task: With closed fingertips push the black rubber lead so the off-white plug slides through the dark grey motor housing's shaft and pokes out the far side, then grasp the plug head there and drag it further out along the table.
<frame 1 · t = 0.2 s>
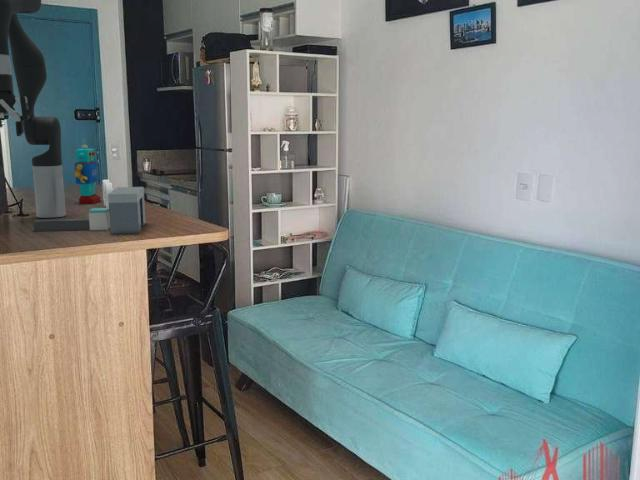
hand: (2, 136, 169), 28 cm above the countertop, fingers open, 8 cm apart
housing: (128, 227, 194), on the countertop
toy robot: (89, 203, 252), on the countertop
plug: (99, 228, 193), on the countertop
letter: (108, 208, 237), on the countertop
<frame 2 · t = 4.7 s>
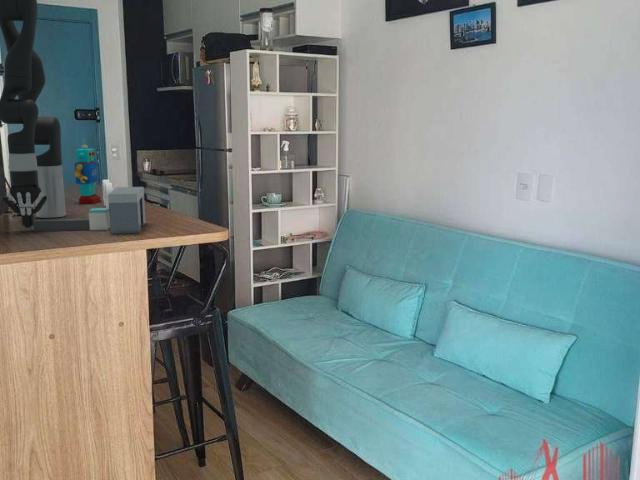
hand: (28, 227, 189), 1 cm above the countertop, fingers closed
plug: (99, 228, 193), on the countertop, touching gripper
everything else where it was.
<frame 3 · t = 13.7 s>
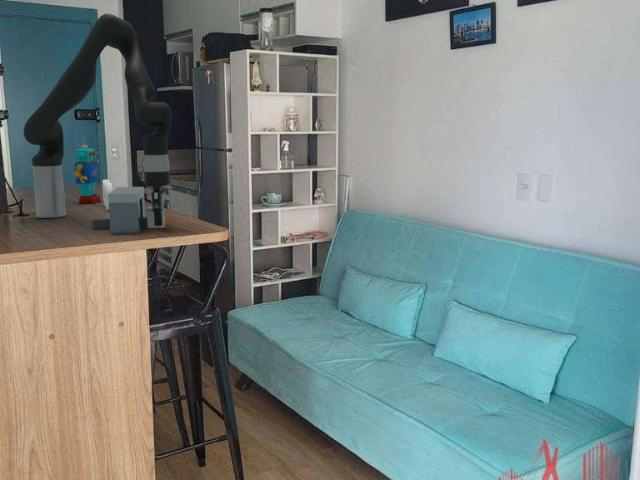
hand: (159, 223, 196), 1 cm above the countertop, fingers open, 7 cm apart
plug: (156, 226, 197), on the countertop, touching gripper
everything else where it was.
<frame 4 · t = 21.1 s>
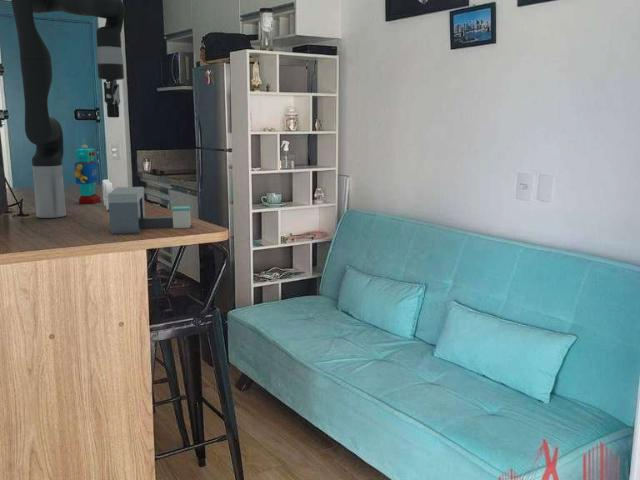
hand: (113, 117, 197), 33 cm above the countertop, fingers open, 8 cm apart
plug: (182, 226, 197), on the countertop
everything else where it was.
at the end: plug moved 24.4 cm from its start; the gripper is holding nothing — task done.
